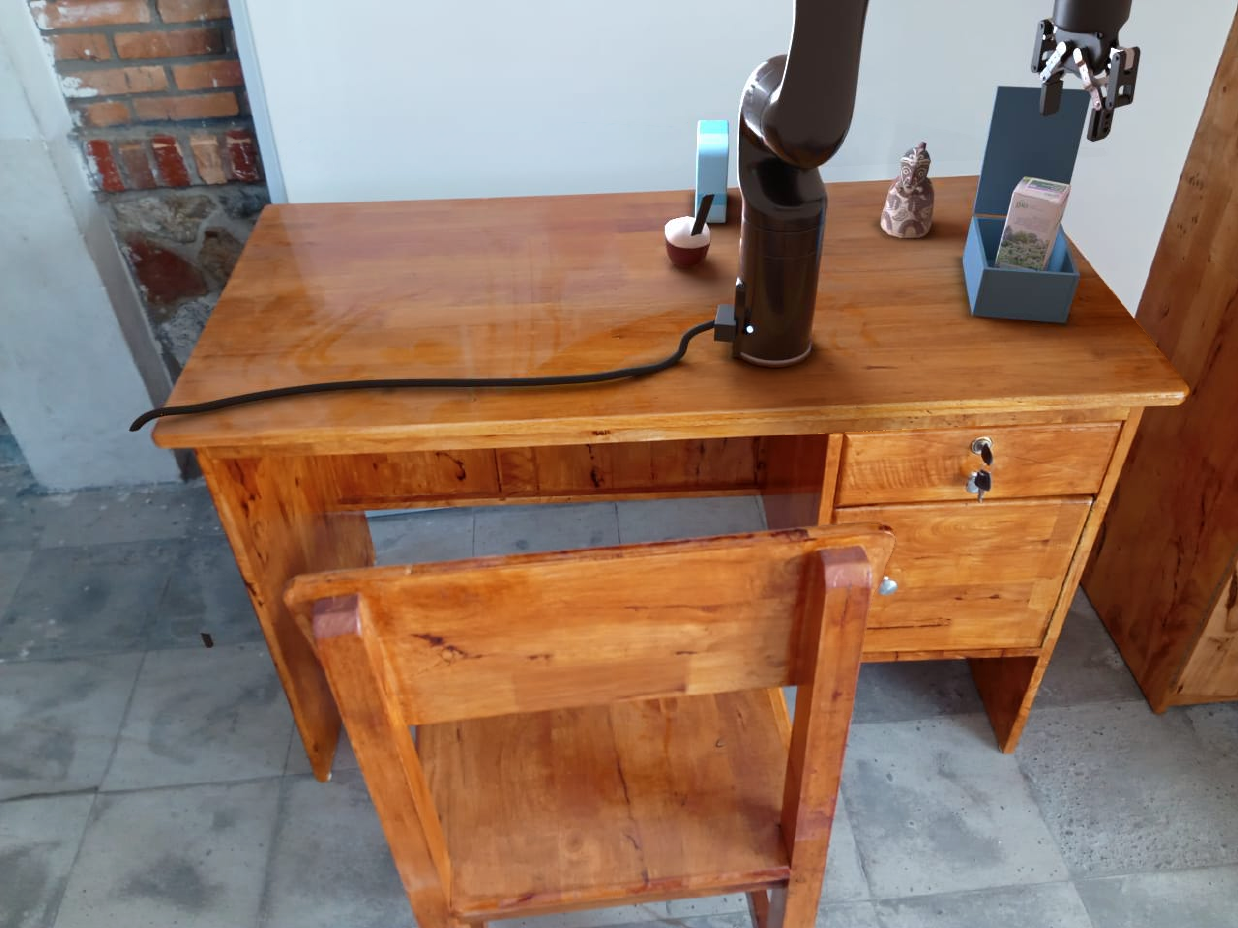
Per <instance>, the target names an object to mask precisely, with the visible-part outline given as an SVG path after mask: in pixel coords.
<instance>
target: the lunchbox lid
mask: <svg viewBox="0 0 1238 928" xmlns="http://www.w3.org/2000/svg"><path fill="white" fill-rule="evenodd" d="M1041 88H1042V87H1037V86H1036V87H1035V86H1015V85H1014V86H1012V85H1011V86H1010V85H1008V86H1007V85H997V87H996V91H995V96H994V102H993V107H992V111H991V117H990V121H989V122H990V123H989V128H988V132H987V138H986V143H985V148H984V153H983V154H984V155H983V158H982V162H981V169H980V174H979V178H978V183H977V190H976V194H975V199H974V204H973V208H972V209H973V210H972V214H973V215H989V216H1002V217H1003V216H1004V217H1007V215H1008V211H1009V206H1010V202H1011V198H1012V195H1013V191H1014V190H1015V188H1016V187H1017V185H1018V184H1019V183H1020V181H1021V180H1022V179H1023V178H1024V177H1025V176H1026V177H1032V178H1037V179H1042V180H1048V181H1053V182H1058V183H1063V184H1068V185H1071V182H1072V179H1073V178H1072V177H1073V174H1074V170H1075V166H1076V161H1077V157H1078V153H1079V149H1080V144H1081V141H1082V137H1083V132H1084V128H1085V124H1086V119H1087V115H1088V111H1089V107H1090V103H1091V100H1092V98H1091V95H1090V92H1089V91H1086V90H1085V88H1084V89H1083V88H1066V87H1065V88H1063V89H1062V95H1061V102H1060V108H1059V111H1058V112H1057V113H1055V114H1052V115H1049V116H1043V115H1041V114H1040V113H1039V110H1040V105H1039V103H1040V96H1041Z"/></svg>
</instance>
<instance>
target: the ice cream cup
mask: <svg viewBox="0 0 1238 928" xmlns="http://www.w3.org/2000/svg"><path fill="white" fill-rule="evenodd" d="M714 196H715V194H708V195H704V196H703V199H702V202H701V205H700V208H699V211H698V214H697V217H696V219H695V217H691V216H684V217H679V218H675V219H672V220H669V222H667V224H666V225H664V233H665V238H664V242H665V243H664V245H665V250H666V254H667V257H668V258H669V260H670V261H671V263H672V264H675V265H677V266H679V267H682V268H692V267H696V266H699V265H700V264H702V263H703V262H704V261H705V260H706V258H707V256H708V253H709V250H710V247H711V241H712V237H711V236H710V234H711V233H710V231H711V230H710V229H709V226H708V223H705V222H706V219H707V216H708V214H709V211H710V208H711V205H712V202H713V199H714Z"/></svg>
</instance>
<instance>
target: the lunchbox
mask: <svg viewBox="0 0 1238 928" xmlns="http://www.w3.org/2000/svg"><path fill="white" fill-rule="evenodd" d="M1006 219H1007V217H997V216H996V217H995V216H979V215H978V216H977V215H972V216H971V220H970V224H969V229H968V232H967V233H968V234H967V238H966V243H965V247H964V251H963V255H962V266H963V271H964V277H965V283H966V289H967V295H968V300H969V306H970V312H971V317H979V318H980V317H981V318H993V319H995V318H996V319H1006V320H1007V319H1008V320H1018V321H1019V320H1020V321H1032V322H1044V323H1045V322H1046V323H1059V324H1066V323H1067V319H1068V316H1069V313H1070V310H1071V307H1072V303H1073V300H1074V297H1075V294H1076V290H1077V287H1078V284H1079V281H1080V278H1081V274H1080V271H1079V269H1078V266H1077V263H1076V260H1075V258H1074V255H1073V252H1072V249H1071V246H1070V244H1069V241H1068V238H1067V236H1066V233H1065V230H1064V227H1063V225H1062V223H1061V224H1060V227H1059V230H1058V234H1057V237H1056V240H1055V244H1054V247H1053V250H1052V253H1051V257H1050V260H1049V264H1048V267H1047V271H1034V270H1019V269H1005V268H994V266H995V262H996V258H997V254H998V250H999V246H1000V242H1001V238H1002V234H1003V231H1004V227H1005V223H1006Z"/></svg>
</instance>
